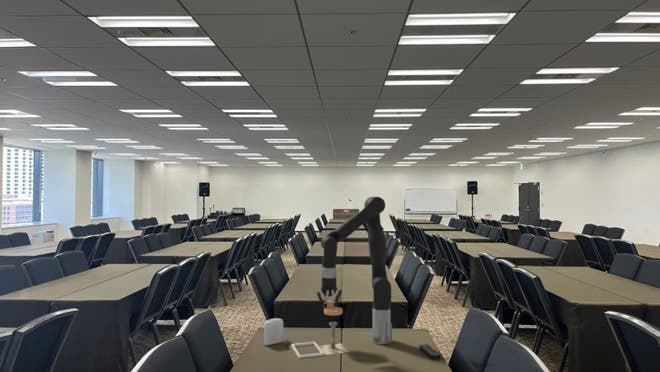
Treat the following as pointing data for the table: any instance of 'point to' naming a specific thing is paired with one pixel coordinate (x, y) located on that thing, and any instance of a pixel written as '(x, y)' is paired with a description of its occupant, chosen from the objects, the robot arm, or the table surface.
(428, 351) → the multiport hub
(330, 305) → the terracotta ring
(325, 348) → the stake board
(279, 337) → the photo printer
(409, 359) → the table surface
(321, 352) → the white tray
